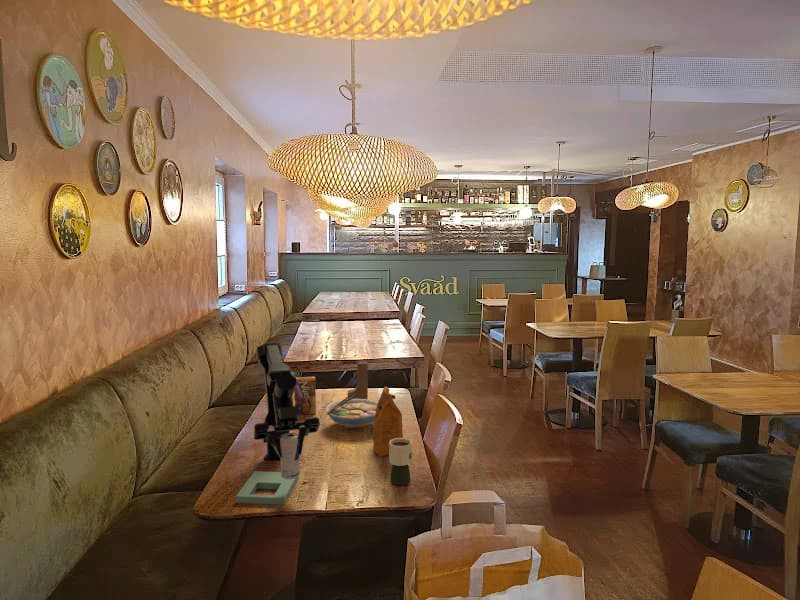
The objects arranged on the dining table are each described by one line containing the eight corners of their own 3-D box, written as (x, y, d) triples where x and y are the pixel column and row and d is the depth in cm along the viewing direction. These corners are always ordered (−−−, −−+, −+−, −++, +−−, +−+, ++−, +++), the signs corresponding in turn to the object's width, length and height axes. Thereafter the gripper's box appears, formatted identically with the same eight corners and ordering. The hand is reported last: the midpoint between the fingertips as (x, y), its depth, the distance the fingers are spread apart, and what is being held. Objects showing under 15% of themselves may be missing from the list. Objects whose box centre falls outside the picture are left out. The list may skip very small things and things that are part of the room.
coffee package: (398, 442, 198) (398, 384, 195) (404, 456, 186) (405, 394, 183) (371, 444, 196) (371, 385, 193) (376, 458, 184) (376, 396, 181)
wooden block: (347, 403, 242) (347, 364, 239) (347, 399, 246) (347, 361, 244) (367, 402, 243) (367, 363, 240) (367, 399, 247) (367, 361, 245)
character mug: (415, 489, 162) (415, 448, 160) (391, 491, 161) (391, 450, 159) (408, 473, 173) (408, 434, 171) (386, 475, 172) (386, 436, 170)
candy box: (316, 410, 232) (315, 376, 230) (316, 413, 227) (315, 378, 225) (294, 411, 230) (294, 376, 228) (294, 415, 226) (293, 379, 224)
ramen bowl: (368, 440, 199) (368, 419, 198) (313, 432, 207) (313, 412, 206) (392, 418, 222) (392, 399, 221) (342, 412, 230) (342, 393, 229)
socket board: (254, 477, 169) (254, 471, 169) (298, 478, 169) (298, 472, 168) (236, 502, 154) (236, 496, 153) (284, 504, 153) (284, 498, 153)
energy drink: (302, 472, 158) (302, 433, 157) (294, 480, 153) (294, 440, 152) (285, 470, 160) (285, 431, 158) (277, 478, 155) (276, 438, 153)
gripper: (253, 397, 153) (258, 449, 145) (318, 390, 160) (326, 440, 151) (251, 414, 162) (256, 464, 153) (313, 407, 168) (321, 455, 160)
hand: (290, 455), depth 154 cm, fingers closed on energy drink, 5 cm apart
